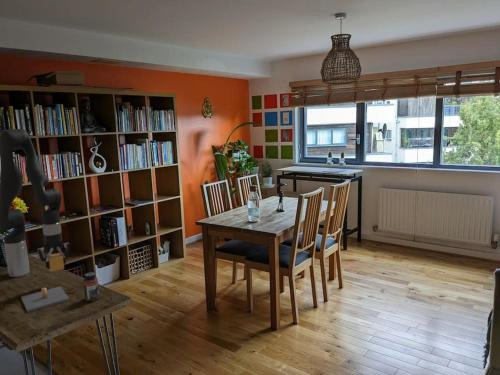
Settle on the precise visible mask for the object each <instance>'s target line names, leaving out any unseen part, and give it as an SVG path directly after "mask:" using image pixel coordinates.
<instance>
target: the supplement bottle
mask: <svg viewBox="0 0 500 375" xmlns="http://www.w3.org/2000/svg"><path fill="white" fill-rule="evenodd" d="M82 284H83V285H82V286H83V295H84V300H85V301H86V302H94V301H97V300H98V299H99V298H100V296H101V295H100V286H99V279H98V277H97V276H96V273H95V272H91V271H90V272H86V274H84V279H83V280H82Z"/></svg>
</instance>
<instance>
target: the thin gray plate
mask: <svg viewBox="0 0 500 375" xmlns="http://www.w3.org/2000/svg"><path fill="white" fill-rule="evenodd" d="M20 298H21V301H22V303H23V306H24V307H25V310H26V312H27V313H29V312H33V311H37V310H40V309H45V308H48V307H51V306H54V305H58V304H62V303H65V302H68V301H69V302H70V299H71V298H70V297H69V295H68V294H67V293H66V292H65V290H64V289H63V288H62V286H57V287H53V288H50V289H47V287H42V288H41V291H37V292H34V293H29V294H26V295H23V296H20Z"/></svg>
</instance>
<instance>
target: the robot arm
mask: <svg viewBox="0 0 500 375" xmlns="http://www.w3.org/2000/svg"><path fill="white" fill-rule="evenodd" d="M14 150H23V152H24V154H25V156H26V158H25V159H26V161H25V168H24V170H25V171H24V172H25V175H26V177H27V179H28V180H29V182H30V184H31V186H32V191H33V194H34V200H35V201H36V203H37V205H39V206H41V207H47V206H48V208H47V209H45V210H43V211H42V213H41V218H42V220H41V221H42V234H43V236H42V237H43V242H44V243H43V246H42V247H37V248H36V251H37V255H38V256H39V259H40V261H41V262H45V268H46V269H48V270H49V269H50V264H49V258H50V256H51V255H54V254H59V253H60V255H61V256H63V262H64V265H66V264H67V262H66V257H69V256H70V250H71V243H69V242H65V243H64V242H63V234H62V226H61V221H60V210H61V205H62V197H63V196H62V193H61V192H60V190H59V189H58V188H50V189H44V188H45V187H46V186H48V185H49V183H50V180H49V178H48V177H47V174H46V173H45V171H44V169H43V168H42V165H41V163H40V162H39V158H38V156H37V152H36V150H35V147H34V144H33V141H32V140H31V137H30V135H29V132H27V130H25V129H23V128H14V129H11V128H10V129H4V130H2V131H1V132H0V230H2V231H7V230H11V229H12V230H11V232H10V233H8V234H6V235H5V236H4V237H3V243H4V244H3V245H4V249H5V257H6V264H7V271H8V276H9V277H12V278H17V277H21V276H25V275H27V274H29V273H30V272H31V271H30V263H29V255H28V247H27V242H26V220H25V215H24V213H23V211H22V209H20V208H15V209H14V208H13V209H11V206H12V204H13V203H14V201H15V200H16V198H17V197H18V196H19V194H20V193H21V191H22V189H23V181H24V179H23V178H24V176H23V173H22V171H21V169H20V168H19V166H18V165H17V163H16V162H15V160H14V156H13V153H14ZM63 247H64V249H65V253H64V252H63V251H62V249H63ZM44 251H45V252H46V254H45V257H44V255H43V253H44Z"/></svg>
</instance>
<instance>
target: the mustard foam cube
mask: <svg viewBox="0 0 500 375" xmlns="http://www.w3.org/2000/svg"><path fill="white" fill-rule="evenodd" d="M49 264H50V269H48V270H49V271H50V272H51V273H52V272H56V271H61V270H64V269H65V264H64V262H63V256H61V255H60V253H55V254H51V256H50V258H49Z"/></svg>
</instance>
